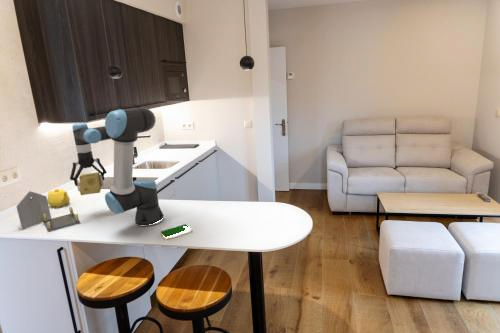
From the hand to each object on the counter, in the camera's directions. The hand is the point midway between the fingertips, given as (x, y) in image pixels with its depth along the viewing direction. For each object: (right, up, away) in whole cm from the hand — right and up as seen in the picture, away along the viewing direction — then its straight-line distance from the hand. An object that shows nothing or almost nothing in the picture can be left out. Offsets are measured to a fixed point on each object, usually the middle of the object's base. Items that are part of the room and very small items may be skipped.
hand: (91, 188), depth 195 cm
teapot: (-30, -13, +23) cm, 40 cm away
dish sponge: (+55, -22, -25) cm, 64 cm away
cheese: (0, -2, +1) cm, 2 cm away
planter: (-32, -20, -2) cm, 37 cm away
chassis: (-14, -19, -5) cm, 24 cm away
